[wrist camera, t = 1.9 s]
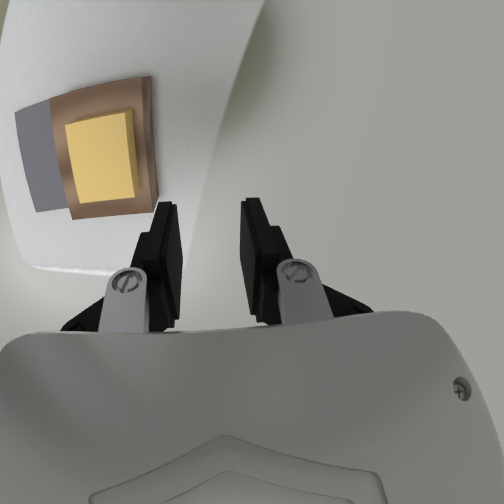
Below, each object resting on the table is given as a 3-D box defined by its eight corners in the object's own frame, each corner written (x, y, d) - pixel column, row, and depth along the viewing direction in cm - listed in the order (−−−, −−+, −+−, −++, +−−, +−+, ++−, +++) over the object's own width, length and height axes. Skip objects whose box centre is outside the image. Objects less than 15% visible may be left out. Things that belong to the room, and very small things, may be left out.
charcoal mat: (17, 111, 19) (14, 112, 19) (63, 95, 20) (60, 95, 20) (38, 210, 28) (36, 212, 27) (81, 203, 29) (79, 206, 28)
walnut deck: (66, 93, 20) (49, 98, 17) (150, 76, 22) (141, 76, 19) (84, 203, 29) (72, 219, 26) (158, 195, 30) (153, 212, 27)
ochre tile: (76, 119, 19) (65, 125, 17) (132, 109, 20) (124, 112, 18) (88, 192, 24) (80, 203, 22) (140, 187, 25) (134, 197, 23)
